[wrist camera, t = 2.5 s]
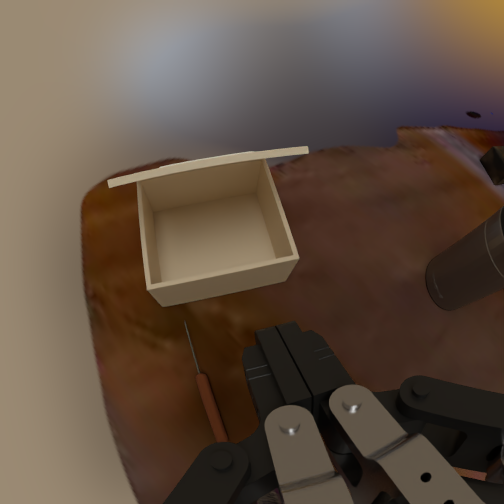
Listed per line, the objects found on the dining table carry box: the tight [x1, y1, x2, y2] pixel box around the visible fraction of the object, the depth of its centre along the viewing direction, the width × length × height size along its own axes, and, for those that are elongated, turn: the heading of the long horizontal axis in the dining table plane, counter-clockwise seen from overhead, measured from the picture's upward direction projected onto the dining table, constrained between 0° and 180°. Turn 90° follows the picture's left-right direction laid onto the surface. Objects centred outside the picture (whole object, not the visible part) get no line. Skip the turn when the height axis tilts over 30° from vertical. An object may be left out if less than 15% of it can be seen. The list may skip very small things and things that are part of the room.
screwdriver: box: [185, 322, 228, 442], centre depth 32 cm, size 16×1×2 cm, turn 18°
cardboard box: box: [137, 158, 299, 307], centre depth 36 cm, size 16×14×8 cm
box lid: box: [108, 146, 309, 188], centre depth 28 cm, size 16×14×1 cm
